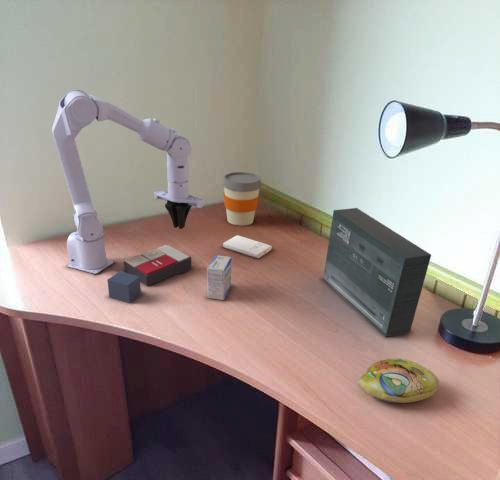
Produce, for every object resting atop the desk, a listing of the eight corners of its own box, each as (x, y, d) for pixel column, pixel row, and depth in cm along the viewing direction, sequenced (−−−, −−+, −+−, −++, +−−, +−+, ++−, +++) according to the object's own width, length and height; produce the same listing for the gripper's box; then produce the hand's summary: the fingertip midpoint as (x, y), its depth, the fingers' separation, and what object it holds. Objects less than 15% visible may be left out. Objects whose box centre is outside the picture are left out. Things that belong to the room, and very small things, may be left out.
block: (109, 297, 122) (107, 279, 119) (121, 288, 126) (119, 271, 123) (129, 303, 120) (128, 285, 117) (141, 294, 124) (139, 276, 121)
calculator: (122, 259, 131) (166, 242, 140) (124, 273, 134) (168, 255, 143) (146, 274, 125) (191, 255, 134) (148, 288, 128) (192, 268, 137)
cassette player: (410, 331, 116) (431, 254, 105) (385, 337, 113) (404, 258, 103) (344, 276, 138) (356, 207, 127) (323, 279, 136) (333, 210, 125)
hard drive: (237, 239, 156) (271, 249, 150) (222, 247, 150) (257, 259, 144) (237, 234, 155) (271, 244, 149) (222, 242, 149) (257, 254, 144)
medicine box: (223, 301, 123) (224, 270, 118) (206, 298, 124) (207, 267, 119) (231, 286, 130) (232, 256, 125) (214, 284, 130) (215, 254, 126)
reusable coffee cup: (218, 225, 165) (219, 181, 157) (226, 212, 175) (227, 170, 167) (255, 229, 163) (258, 185, 155) (261, 216, 174) (263, 173, 166)
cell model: (450, 399, 92) (386, 380, 87) (423, 421, 97) (361, 404, 92) (432, 355, 100) (372, 336, 95) (408, 377, 105) (349, 360, 100)
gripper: (208, 180, 134) (208, 227, 141) (162, 172, 138) (164, 217, 145) (196, 187, 128) (196, 236, 135) (148, 178, 133) (151, 225, 140)
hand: (179, 227), depth 140 cm, fingers closed
